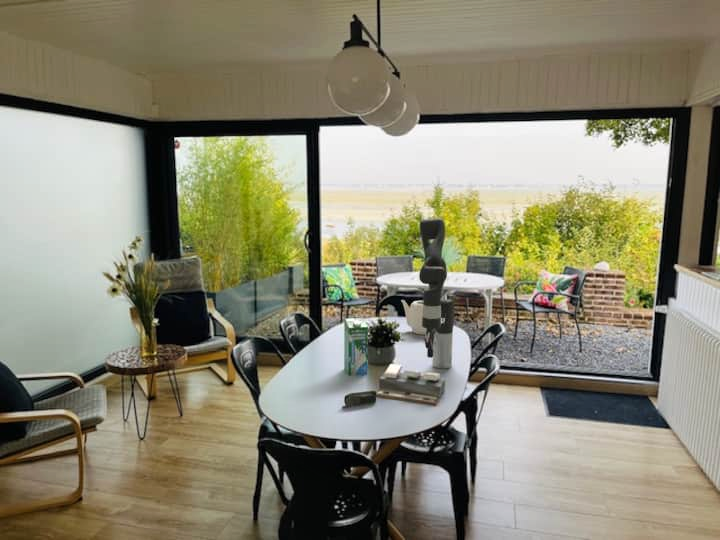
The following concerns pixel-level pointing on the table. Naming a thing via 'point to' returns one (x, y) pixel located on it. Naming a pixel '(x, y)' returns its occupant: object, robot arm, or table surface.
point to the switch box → (411, 389)
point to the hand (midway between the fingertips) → (430, 356)
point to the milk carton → (355, 346)
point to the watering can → (415, 316)
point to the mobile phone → (359, 398)
